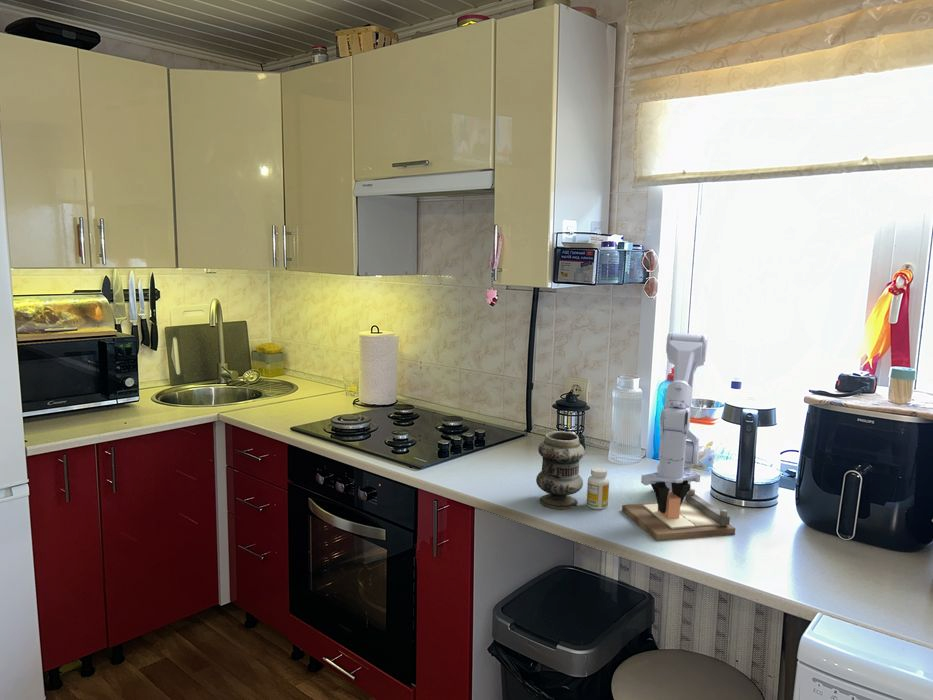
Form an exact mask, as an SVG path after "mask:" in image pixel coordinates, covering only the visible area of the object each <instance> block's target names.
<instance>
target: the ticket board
mask: <svg viewBox="0 0 933 700" xmlns="http://www.w3.org/2000/svg"><path fill="white" fill-rule="evenodd" d="M646 504H658V503H657V501H656V502H645V503H644V502H642V503H630V504H622V505H621V506H622V507H621V511H622V512H623V513H624V514H626V515H627V516H628V517H629V518H630V519H631V520H633V521H634V523H636V524H637V525H638V526H639V527H640V528H642V529H643V530H644V531H646V532H647V533H648V534H649V535H650V536H651V537H652V538H654V539H655V540H656V541H658V542H659V541H669V540H679V539H681V540H682V539H693V538H695V539H696V538H705V537H706V538H707V537H715V536H716V537H717V536H730V535H736V527H734V526H733V525H731V523H730V520H731V517H730V516H729V514H728V513H729V512H728V510H727V509H719V508H717V507H716V506H714V505H713V504H711V503H710V502H708V501H707V500H705V499H703V498H701V497H700V496H699V495H697V494H696V490H695V489H694V488H690V490H689V491H688V493H687V494H686V497H685V501H682V504H681V506H680V515H682V516H683V517H684V518H686V519H687V520H688V521H690V522H691V523H693V524H694V525H695V527H689V528H677V529H671V528H670V527H669V526H667V525H666V524H665V523H664V522H662V521H661V520H660V519H659V518H657V517H656V516H655V515H654V514H652V513H651V512H650V511H649V510H647V509H646V508H645V507H643V505H646Z"/></svg>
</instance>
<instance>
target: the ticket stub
mask: <svg viewBox="0 0 933 700" xmlns="http://www.w3.org/2000/svg"><path fill="white" fill-rule="evenodd" d="M680 501H681V498H679V497H678V496H677V495H675V494H674V493H672V492H671V491H669V493H668V496H667V501H666V511H665V513H661V512H660V511H659V510H658V504H646V505H643V507H645V508H646V509H647V510H649V511H650V512H651V513H652V514H654V515H655V516H656V517H657V518H659V519H660V520H661V521H662V522H664V523H665V524H666V525H667V526H669V527H670V528H671V529H677V528H689V527H695V525H694V524H693V523H691V522H690V521H688V520H687V519H686V518H684V517H683V516H682V515H680Z"/></svg>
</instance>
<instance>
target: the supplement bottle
mask: <svg viewBox="0 0 933 700" xmlns="http://www.w3.org/2000/svg"><path fill="white" fill-rule="evenodd" d="M607 475H608V470H607V469H606V468H604V467H599V466H597V467H592V468H591V469H590V476H589V477H588V478H587V486H586V487H587V488H586V489H587V490H586V506H587V507H588V508H590V509H592V510H604V509H608V505H609V493H610V491H609V490H610V480H609V478H608V477H607Z"/></svg>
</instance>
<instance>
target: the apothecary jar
mask: <svg viewBox="0 0 933 700" xmlns="http://www.w3.org/2000/svg"><path fill="white" fill-rule="evenodd" d="M537 450H538V454H539V455H540V456H541V458H542V464H541V471H540V472H539V473H537V476H536V478H535V479H536V480H535V481H536V485H537V486H538V488H539V489H540V490H542V491H543V492H545V493H547V494H543V495H542V496H541V497H539V502H540V504H541V505H542V506H544V507H547V508H551V509H556V510H568V509H573V508H574V507H576V506H578V500H577V499H576V498H574V497H572V496H571V495H574V494H576V493H578V492H580V491H581V489H582V488H583V485H584V481H583V478H582V476H581V475H580V474H579V473H580V472H579V471H580V469H579V468H580V460H581V459H582V458H583V457H584V456H585V454H586V453H585V448H584V446H583V445H582V443H580V438H579V435H578V434H576V433H573V432H569V431H562V430H554V431H550V432H547V433H546V434H545V437H544V440H542V441H541V443H540V444H539V445H538V449H537Z"/></svg>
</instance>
